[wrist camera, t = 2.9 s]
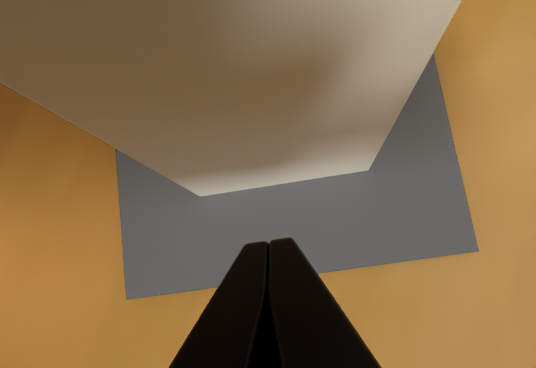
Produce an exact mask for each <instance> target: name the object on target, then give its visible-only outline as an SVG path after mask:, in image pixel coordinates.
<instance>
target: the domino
mask: <svg viewBox="0 0 536 368" xmlns="http://www.w3.org/2000/svg"><path fill="white" fill-rule="evenodd" d="M461 1H462V0H0V83H1V84H2V85H4V86H6V87H8V88H9V89H11V90H13V91H15V92H16V93H18V94H20V95H22V96H24V97H25V98H27V99H29V100H31V101H32V102H34V103H36V104H38V105H39V106H41V107H43V108H45V109H46V110H48V111H50V112H52V113H53V114H55V115H57V116H59V117H61V118H62V119H64V120H66V121H68V122H69V123H71V124H73V125H75V126H76V127H78V128H80V129H82V130H83V131H85V132H87V133H89V134H90V135H92V136H94V137H96V138H98V139H99V140H101V141H103V142H105V143H106V144H108V145H110V146H112V147H113V148H115V149H117V150H119V151H120V152H122V153H124V154H126V155H128V156H129V157H131V158H133V159H135V160H136V161H138V162H140V163H142V164H143V165H145V166H147V167H149V168H150V169H152V170H154V171H156V172H157V173H159V174H161V175H163V176H165V177H166V178H168V179H170V180H172V181H173V182H175V183H177V184H179V185H180V186H182V187H184V188H186V189H187V190H189V191H191V192H193V193H195V194H196V195H198V196H200V197H201V196H208V195H214V194H220V193H227V192H233V191H240V190H246V189H252V188H259V187H265V186H272V185H278V184H284V183H291V182H297V181H303V180H310V179H316V178H323V177H329V176H335V175H342V174H348V173H355V172H361V171H367V170H369V168H370V167H371V165H372V163H373V161H374V159H375V158H376V156H377V154H378V152H379V150H380V148H381V147H382V145H383V143H384V141H385V139H386V138H387V136H388V134H389V132H390V130H391V128H392V127H393V125H394V123H395V121H396V119H397V118H398V116H399V114H400V112H401V110H402V108H403V107H404V105H405V103H406V101H407V99H408V98H409V96H410V94H411V92H412V90H413V88H414V87H415V85H416V83H417V81H418V79H419V77H420V76H421V74H422V72H423V70H424V68H425V67H426V65H427V63H428V61H429V59H430V57H431V56H432V54H433V52H434V50H435V48H436V47H437V45H438V43H439V41H440V39H441V37H442V36H443V34H444V32H445V30H446V28H447V27H448V25H449V23H450V21H451V19H452V17H453V16H454V14H455V12H456V10H457V8H458V7H459V5H460V3H461Z"/></svg>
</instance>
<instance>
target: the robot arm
mask: <svg viewBox="0 0 536 368" xmlns="http://www.w3.org/2000/svg"><path fill="white" fill-rule="evenodd" d="M169 368H381V366H380V365H379V363H378V362H377V360H376V359H375V357H374V356H373V354H372V353H371V352H370V350H369V349H368V347H367V346H366V344H365V343H364V341H363V340H362V338H361V337H360V335H359V334H358V332H357V331H356V330H355V328H354V327H353V325H352V324H351V322H350V321H349V319H348V318H347V316H346V315H345V313H344V312H343V310H342V309H341V308H340V306H339V305H338V303H337V302H336V300H335V299H334V297H333V296H332V294H331V293H330V291H329V290H328V288H327V287H326V286H325V284H324V283H323V281H322V280H321V278H320V277H319V275H318V274H317V272H316V271H315V269H314V268H313V266H312V265H311V264H310V262H309V261H308V259H307V258H306V256H305V255H304V253H303V252H302V250H301V249H300V247H299V246H298V244H297V243H296V242H295V240H294V239H293V238H291V237H287V238H280V239H273V240H271V241H270V243H268V242H267V241H259V242H252V243H247V244H245V245H244V246H243V247H242V249H241V251H240V252H239V254H238V256H237V257H236V259H235V260H234V262H233V264H232V265H231V267H230V269H229V270H228V272H227V273H226V275H225V277H224V278H223V280H222V282H221V283H220V285H219V286H218V288H217V290H216V291H215V293H214V295H213V296H212V298H211V299H210V301H209V303H208V304H207V306H206V308H205V309H204V311H203V312H202V314H201V316H200V317H199V319H198V321H197V322H196V324H195V325H194V327H193V329H192V330H191V332H190V334H189V335H188V337H187V338H186V340H185V342H184V343H183V345H182V347H181V348H180V350H179V351H178V353H177V355H176V356H175V358H174V360H173V361H172V363H171V364H170V366H169Z"/></svg>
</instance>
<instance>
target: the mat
mask: <svg viewBox="0 0 536 368" xmlns="http://www.w3.org/2000/svg"><path fill="white" fill-rule="evenodd" d="M116 159H117V174H118V188H119V202H120V217H121V231H122V245H123V259H124V274H125V288H126V300H128V299H135V298H142V297H149V296H157V295H164V294H171V293H178V292H186V291H193V290H200V289H207V288H215V287H218V286H219V285H220V283H221V282H222V280H223V278H224V277H225V275H226V273H227V272H228V270H229V269H230V267H231V265H232V264H233V262H234V260H235V259H236V257H237V256H238V254H239V252H240V251H241V249H242V247H243V246H244V245H245V244H247V243H252V242H259V241H267V242H268V243H270V241H271V240H273V239H280V238H287V237H291V238H293V239H294V240H295V242H296V243H297V244H298V246H299V247H300V249H301V250H302V252H303V253H304V255H305V256H306V258H307V259H308V261H309V262H310V264H311V265H312V266H313V268H314V269H315V271H316V272H317V273H324V272H331V271H338V270H345V269H353V268H360V267H367V266H374V265H382V264H389V263H396V262H403V261H411V260H418V259H425V258H433V257H440V256H447V255H454V254H462V253H469V252H476V251H479V250H478V246H477V241H476V237H475V233H474V228H473V224H472V220H471V215H470V211H469V206H468V202H467V198H466V193H465V189H464V185H463V180H462V176H461V172H460V167H459V163H458V159H457V154H456V150H455V146H454V141H453V137H452V133H451V128H450V124H449V120H448V115H447V111H446V107H445V102H444V98H443V94H442V89H441V85H440V81H439V76H438V72H437V68H436V63H435V59H434V55H433V54H432V56H431V57H430V59H429V61H428V63H427V65H426V67H425V68H424V70H423V72H422V74H421V76H420V77H419V79H418V81H417V83H416V85H415V87H414V88H413V90H412V92H411V94H410V96H409V98H408V99H407V101H406V103H405V105H404V107H403V108H402V110H401V112H400V114H399V116H398V118H397V119H396V121H395V123H394V125H393V127H392V128H391V130H390V132H389V134H388V136H387V138H386V139H385V141H384V143H383V145H382V147H381V148H380V150H379V152H378V154H377V156H376V158H375V159H374V161H373V163H372V165H371V167H370V168H369V170H367V171H361V172H355V173H348V174H342V175H335V176H329V177H323V178H316V179H310V180H303V181H297V182H291V183H284V184H278V185H272V186H265V187H259V188H252V189H246V190H240V191H233V192H227V193H220V194H214V195H208V196H201V197H200V196H198V195H196V194H195V193H193V192H191V191H189V190H187V189H186V188H184V187H182V186H180V185H179V184H177V183H175V182H173V181H172V180H170V179H168V178H166V177H165V176H163V175H161V174H159V173H157V172H156V171H154V170H152V169H150V168H149V167H147V166H145V165H143V164H142V163H140V162H138V161H136V160H135V159H133V158H131V157H129V156H128V155H126V154H124V153H122V152H120V151H119V150H117V149H116Z"/></svg>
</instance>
